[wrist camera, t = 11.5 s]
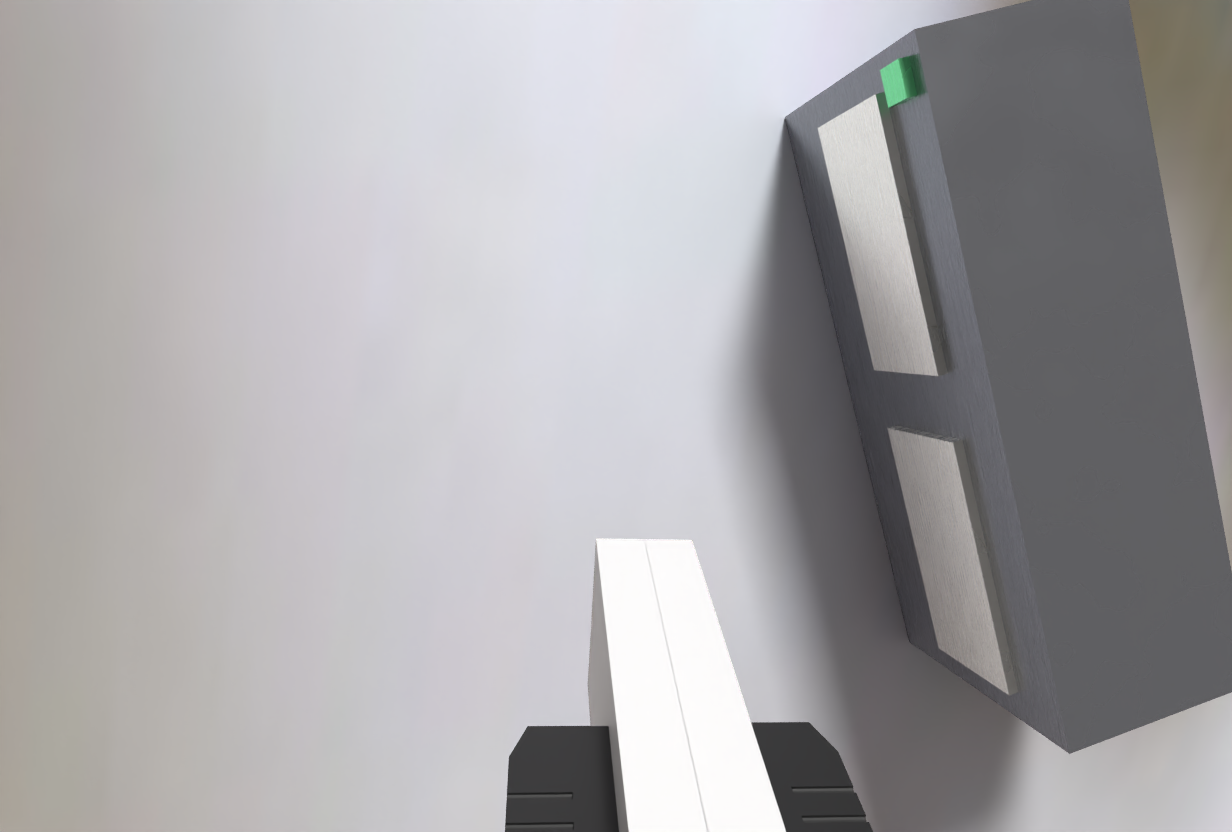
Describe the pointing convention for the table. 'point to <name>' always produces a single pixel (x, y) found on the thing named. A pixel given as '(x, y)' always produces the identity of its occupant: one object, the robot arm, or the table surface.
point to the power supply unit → (1024, 364)
